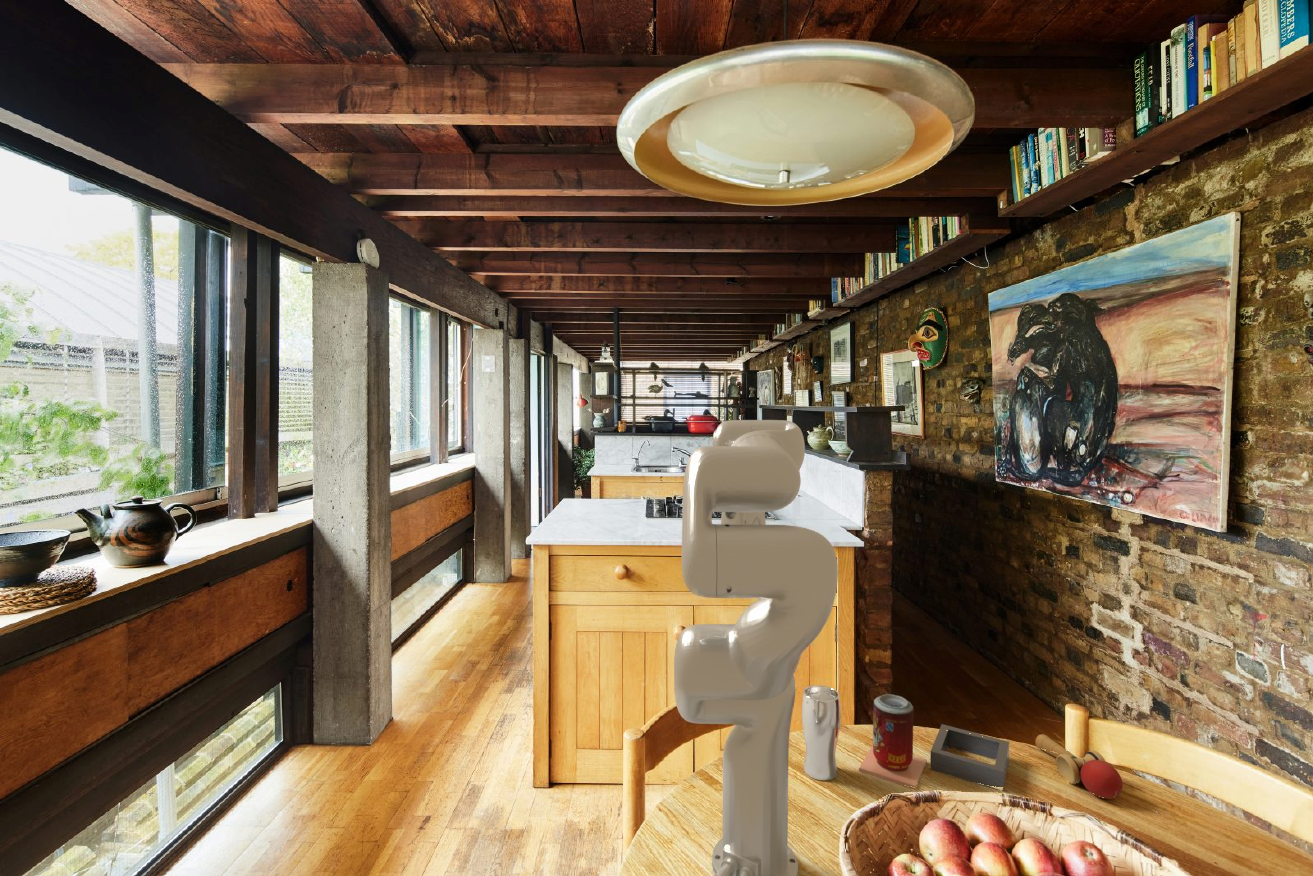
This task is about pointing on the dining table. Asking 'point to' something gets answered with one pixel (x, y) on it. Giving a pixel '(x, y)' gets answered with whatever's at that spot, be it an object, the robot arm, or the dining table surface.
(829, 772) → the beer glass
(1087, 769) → the kendama
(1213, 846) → the dining table surface
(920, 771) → the tile
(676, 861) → the dining table surface
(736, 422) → the robot arm
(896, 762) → the soda can
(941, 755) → the collar
